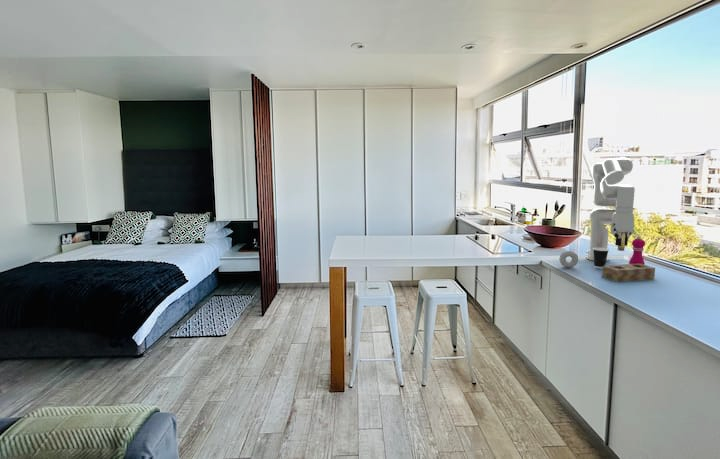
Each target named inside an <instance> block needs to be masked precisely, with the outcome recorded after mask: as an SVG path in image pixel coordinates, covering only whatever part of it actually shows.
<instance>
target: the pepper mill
mask: <svg viewBox="0 0 720 459" xmlns="http://www.w3.org/2000/svg"><path fill="white" fill-rule="evenodd" d="M631 245H632V250H633V251H632V255H631V258H630V259H629V262H628V264H637V263H640V264H644V265H646V264H645V259H644V257H643V251H644V247H645V245H646V241H645V240H644V239H643V238H642V237H641V236H640V235H638V236H637V238H635V239H633V240H632V242H631Z"/></svg>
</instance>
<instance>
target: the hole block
mask: <svg viewBox="0 0 720 459" xmlns="http://www.w3.org/2000/svg"><path fill="white" fill-rule="evenodd" d="M655 274H656V267H653V266H650V265H646V264H645V265H644V264H640V263H637V264H629V263H624V264H622V263H621V264H607V265H605V266H603V269H602V274H601V277H602V278H604V279H608V280H610V281H612V280H613V282H615V281H616V282H615V283H618V282H619V281H622V282H635V280H636V281H645V280H646V281H647V280H655ZM619 283H620V282H619Z"/></svg>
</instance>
